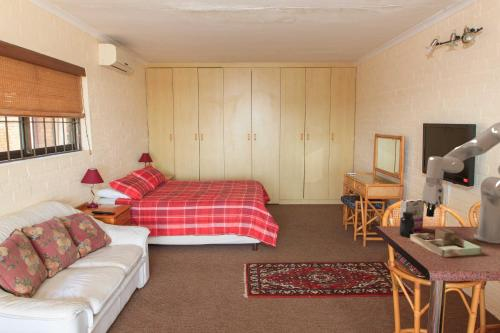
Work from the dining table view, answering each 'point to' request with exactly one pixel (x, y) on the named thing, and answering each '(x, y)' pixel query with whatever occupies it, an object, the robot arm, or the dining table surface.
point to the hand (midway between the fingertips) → (429, 216)
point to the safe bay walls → (466, 248)
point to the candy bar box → (414, 211)
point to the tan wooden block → (445, 236)
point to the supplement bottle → (407, 224)
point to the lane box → (433, 244)
